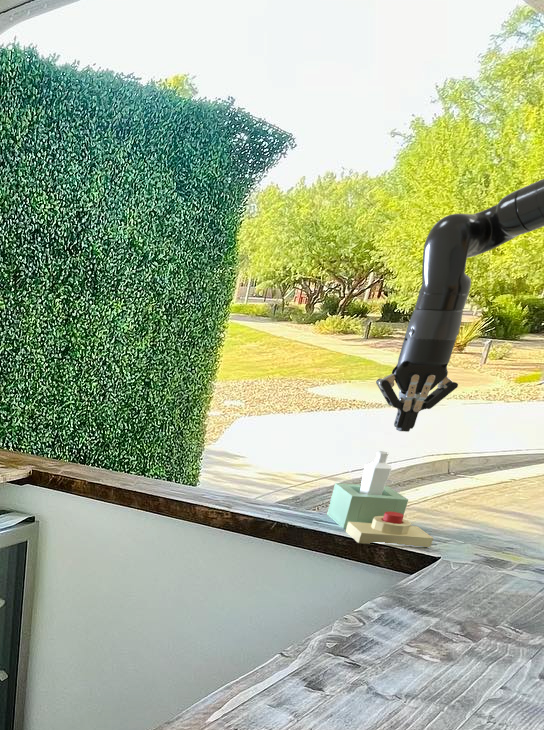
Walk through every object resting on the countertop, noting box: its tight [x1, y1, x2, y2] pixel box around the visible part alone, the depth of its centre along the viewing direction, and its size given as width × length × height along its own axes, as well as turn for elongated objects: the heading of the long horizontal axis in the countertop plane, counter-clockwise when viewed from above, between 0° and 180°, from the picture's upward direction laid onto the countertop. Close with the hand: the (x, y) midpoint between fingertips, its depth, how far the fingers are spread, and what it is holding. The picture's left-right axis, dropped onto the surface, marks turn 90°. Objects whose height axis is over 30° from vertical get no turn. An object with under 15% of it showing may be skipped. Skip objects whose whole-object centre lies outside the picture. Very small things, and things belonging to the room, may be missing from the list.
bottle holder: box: [326, 482, 409, 530], centre depth 156 cm, size 10×10×7 cm
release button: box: [383, 512, 405, 524], centre depth 147 cm, size 3×3×2 cm
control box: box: [345, 516, 434, 548], centre depth 148 cm, size 12×7×4 cm, turn 75°
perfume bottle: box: [359, 450, 393, 495], centre depth 155 cm, size 5×4×15 cm
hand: (402, 430), depth 145 cm, fingers closed
